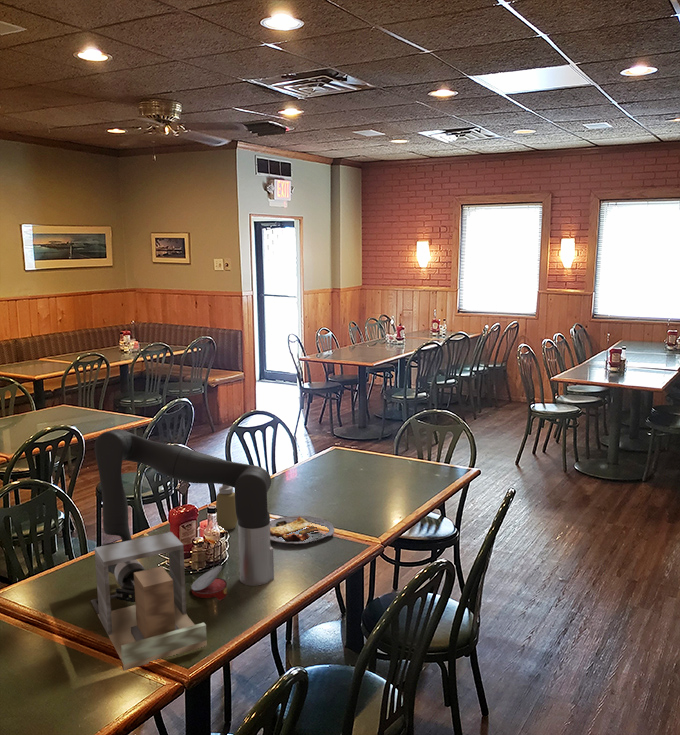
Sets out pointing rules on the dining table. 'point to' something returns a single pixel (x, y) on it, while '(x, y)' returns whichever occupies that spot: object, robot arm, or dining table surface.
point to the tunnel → (125, 618)
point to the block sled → (153, 603)
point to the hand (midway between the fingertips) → (149, 602)
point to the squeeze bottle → (226, 508)
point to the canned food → (210, 585)
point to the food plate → (296, 528)
